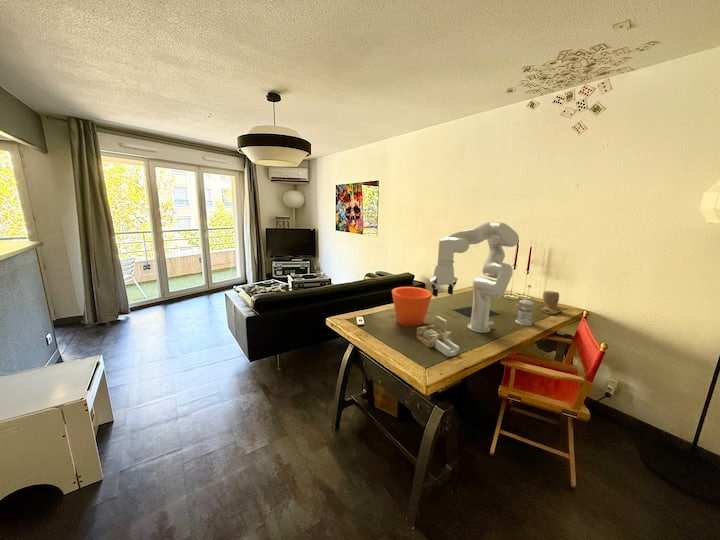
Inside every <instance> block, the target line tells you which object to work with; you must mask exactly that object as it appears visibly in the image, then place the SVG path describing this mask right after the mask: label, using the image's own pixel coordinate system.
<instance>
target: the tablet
mask: <svg viewBox="0 0 720 540" xmlns="http://www.w3.org/2000/svg"><path fill="white" fill-rule="evenodd" d="M451 311H452V312H454V313H456V314H458V315H461V316H463V317H466V318H468V319H470V320H471V315H472V306H466V307H461V308H455V309H452V310H451ZM501 315H502V314H501V313H498V312H496V311H493V310H491V309H490V311H489V318H492V317H496V316H501Z"/></svg>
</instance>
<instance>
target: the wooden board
mask: <svg viewBox="0 0 720 540" xmlns="http://www.w3.org/2000/svg"><path fill="white" fill-rule="evenodd" d="M447 322H448V320H447V319H445V318H442V317H441V316H439V315H437V316H436V315H435V318H434V325H435V327H434V331H435V332H437V333H438V334H440V333H445V332H446V331H447V325H448V324H447Z"/></svg>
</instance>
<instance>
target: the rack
mask: <svg viewBox="0 0 720 540" xmlns="http://www.w3.org/2000/svg"><path fill="white" fill-rule="evenodd" d="M434 327H435V324H432V325H425V326H424V325H423V326H419V327H416V339H417V340H419V341H420V342H421V343H422V344H424V345H425V346H427V347H428V348H432V347H433V348H434V343H435V340H436V339H438V340H439V341H441V342H442V341H443V338H446V339H448V340H450V341H451V342H452V337H453V336H452V335H453V332H452V331H447V330H446V332H445V333H440V334H434V335H429V336H428V341H427V340H426V339H425V338H423V332H425V330H429V329H432V330H434Z"/></svg>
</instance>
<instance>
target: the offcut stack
mask: <svg viewBox="0 0 720 540" xmlns="http://www.w3.org/2000/svg"><path fill="white" fill-rule="evenodd" d="M434 334H438V333H437V332H435V331H434V330H432V329H429V330H425V332H423V338H425V339H426V340H427V341H428V336H429V335H434Z"/></svg>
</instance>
